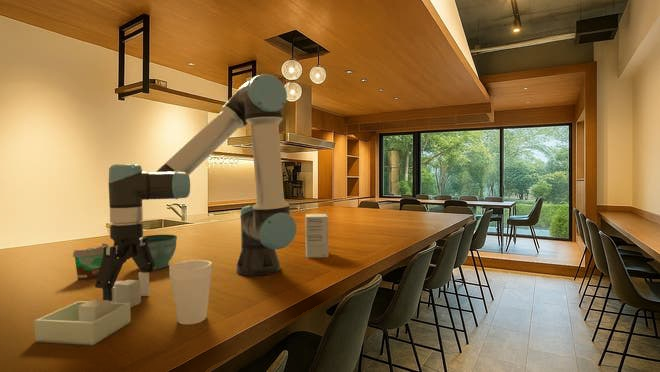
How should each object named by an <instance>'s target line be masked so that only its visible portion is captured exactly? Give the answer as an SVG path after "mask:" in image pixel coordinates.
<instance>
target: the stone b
mask: <svg viewBox="0 0 660 372" xmlns="http://www.w3.org/2000/svg"><path fill="white" fill-rule="evenodd" d="M122 281H123V282H120V283H118V284H116V301H117V303H130V309H131V308H133V307H135V306H137V305H139V304H140V303H142V296H141V283H140V281H139V279H138V280H137V279H126V280H122Z"/></svg>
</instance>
